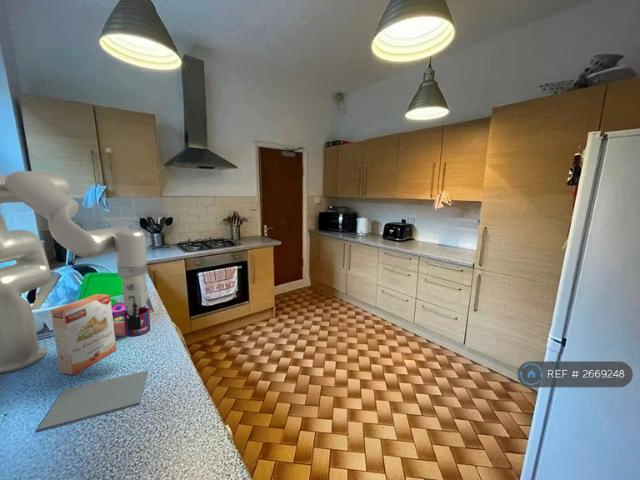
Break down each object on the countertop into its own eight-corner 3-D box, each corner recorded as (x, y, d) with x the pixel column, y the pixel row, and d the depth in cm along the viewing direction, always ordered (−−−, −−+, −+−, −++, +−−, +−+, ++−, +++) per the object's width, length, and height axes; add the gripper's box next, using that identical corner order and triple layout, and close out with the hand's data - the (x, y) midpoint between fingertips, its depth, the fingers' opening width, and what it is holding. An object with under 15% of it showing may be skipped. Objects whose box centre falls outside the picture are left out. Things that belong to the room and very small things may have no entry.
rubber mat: (37, 431, 62) (37, 429, 62) (64, 391, 74) (63, 389, 74) (139, 404, 70) (139, 402, 70) (148, 372, 83) (147, 370, 82)
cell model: (100, 350, 93) (96, 320, 91) (92, 330, 107) (88, 303, 105) (155, 333, 105) (152, 306, 103) (141, 316, 119) (139, 292, 117)
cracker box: (74, 376, 80) (64, 312, 77) (59, 373, 81) (48, 309, 78) (118, 350, 94) (110, 294, 90) (104, 348, 95) (96, 292, 91)
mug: (128, 339, 80) (127, 318, 79) (119, 327, 86) (117, 308, 85) (153, 331, 85) (152, 311, 84) (143, 321, 91) (142, 302, 90)
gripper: (142, 277, 75) (147, 333, 78) (151, 262, 91) (155, 309, 94) (109, 280, 72) (116, 338, 75) (124, 263, 88) (129, 312, 91)
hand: (137, 322), depth 85 cm, fingers closed on mug, 8 cm apart
